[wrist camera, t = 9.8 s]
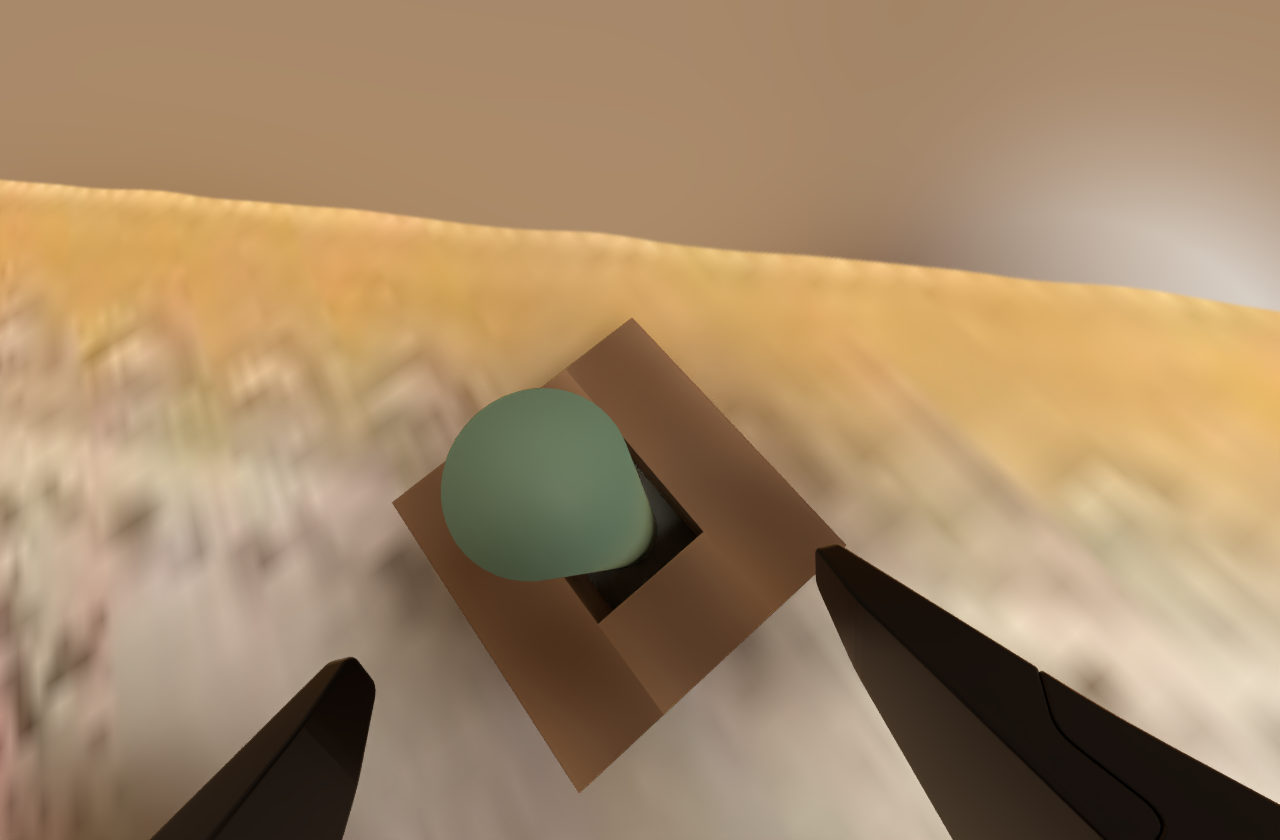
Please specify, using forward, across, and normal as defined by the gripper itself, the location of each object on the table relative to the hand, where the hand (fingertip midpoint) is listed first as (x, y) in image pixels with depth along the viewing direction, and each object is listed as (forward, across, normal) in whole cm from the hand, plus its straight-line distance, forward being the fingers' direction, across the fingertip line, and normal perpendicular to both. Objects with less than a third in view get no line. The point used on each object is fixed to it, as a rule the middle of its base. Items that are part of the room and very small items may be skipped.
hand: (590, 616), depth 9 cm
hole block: (+9, 0, +6) cm, 11 cm away
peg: (+9, 0, +6) cm, 11 cm away
